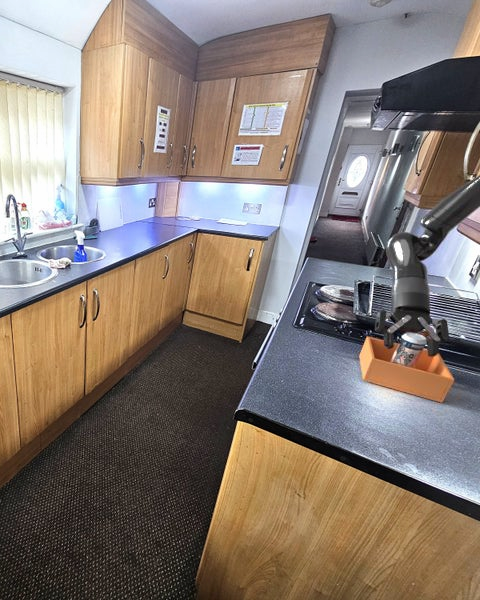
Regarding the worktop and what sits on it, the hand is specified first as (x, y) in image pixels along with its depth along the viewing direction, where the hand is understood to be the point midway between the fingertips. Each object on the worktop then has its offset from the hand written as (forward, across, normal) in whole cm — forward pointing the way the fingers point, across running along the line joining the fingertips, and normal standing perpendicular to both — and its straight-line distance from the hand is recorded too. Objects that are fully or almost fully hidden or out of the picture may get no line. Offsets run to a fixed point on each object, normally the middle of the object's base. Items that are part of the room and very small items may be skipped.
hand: (410, 352), depth 85 cm
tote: (+5, 0, +7) cm, 9 cm away
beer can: (+5, 0, +6) cm, 8 cm away
